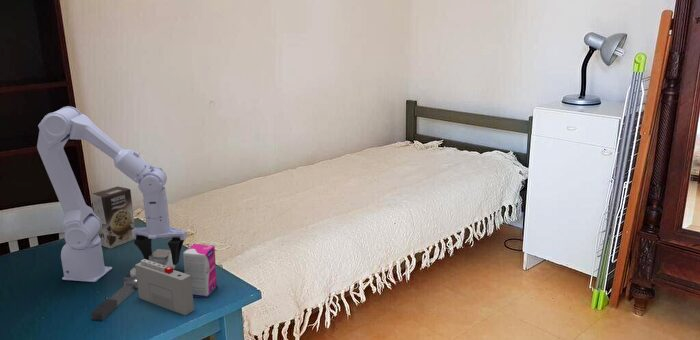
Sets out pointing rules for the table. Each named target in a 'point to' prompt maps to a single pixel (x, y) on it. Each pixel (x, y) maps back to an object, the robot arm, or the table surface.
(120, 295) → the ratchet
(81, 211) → the robot arm
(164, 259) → the brushed metal cube
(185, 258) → the supplement box
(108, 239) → the cookie box
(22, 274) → the table surface
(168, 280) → the cassette player
